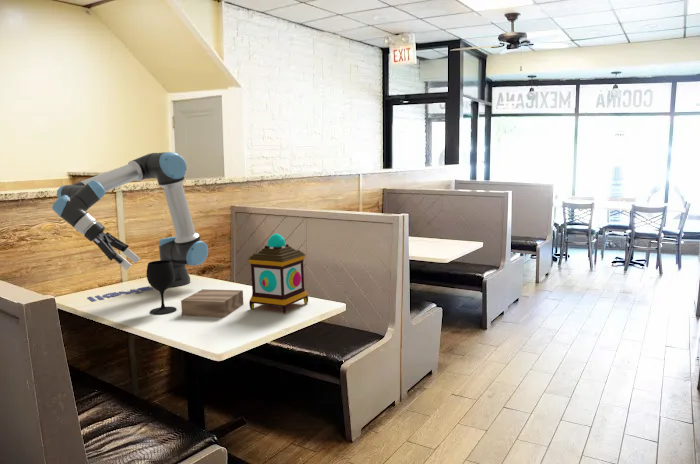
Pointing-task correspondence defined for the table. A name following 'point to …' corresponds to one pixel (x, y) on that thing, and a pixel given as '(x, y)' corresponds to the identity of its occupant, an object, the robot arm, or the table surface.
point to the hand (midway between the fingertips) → (133, 264)
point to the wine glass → (161, 282)
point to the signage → (119, 293)
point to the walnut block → (212, 303)
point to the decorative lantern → (277, 275)
